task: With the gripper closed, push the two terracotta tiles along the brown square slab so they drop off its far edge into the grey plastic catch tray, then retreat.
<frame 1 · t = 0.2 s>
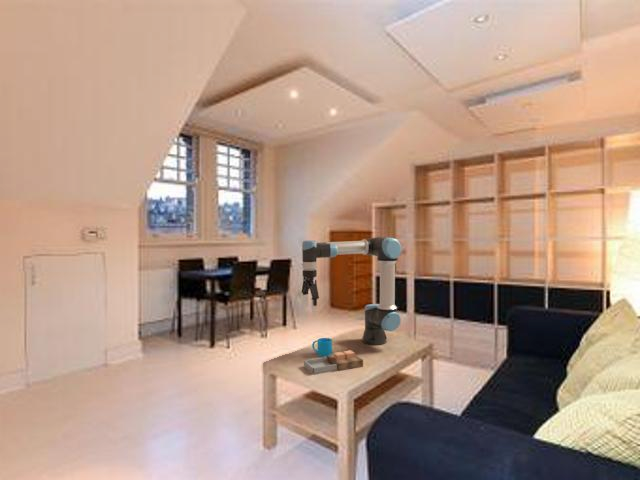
hand: (310, 309, 211), 28 cm above the table, fingers open, 13 cm apart
catch tray: (320, 368, 200), on the table
mug: (321, 354, 223), on the table
brown square slab: (344, 364, 206), on the table
near tile: (348, 356, 207), point 3 cm above the table, touching brown square slab
far tile: (339, 358, 205), point 3 cm above the table, touching brown square slab
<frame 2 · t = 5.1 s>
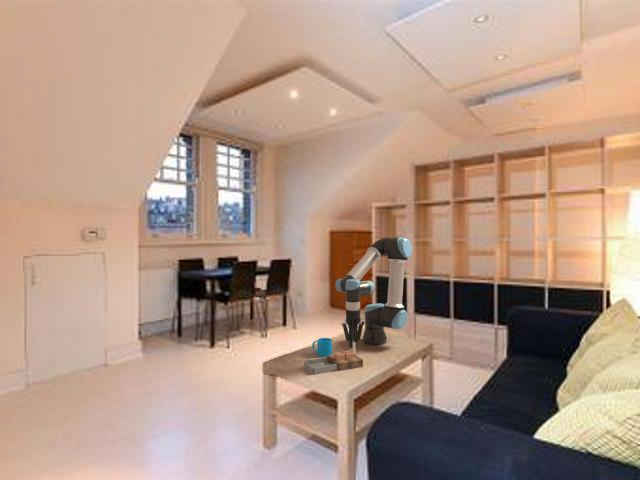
hand: (353, 353, 208), 5 cm above the table, fingers closed
near tile: (348, 356, 207), point 3 cm above the table, touching gripper, brown square slab
everything else where it was.
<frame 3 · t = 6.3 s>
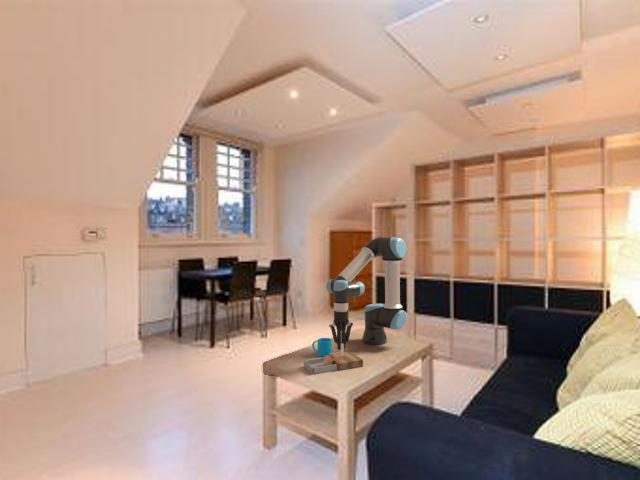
hand: (341, 355, 205), 5 cm above the table, fingers closed
near tile: (336, 358, 204), point 3 cm above the table, touching gripper, brown square slab
far tile: (329, 362, 202), point 2 cm above the table, tilted 53°, touching catch tray
everything else where it was.
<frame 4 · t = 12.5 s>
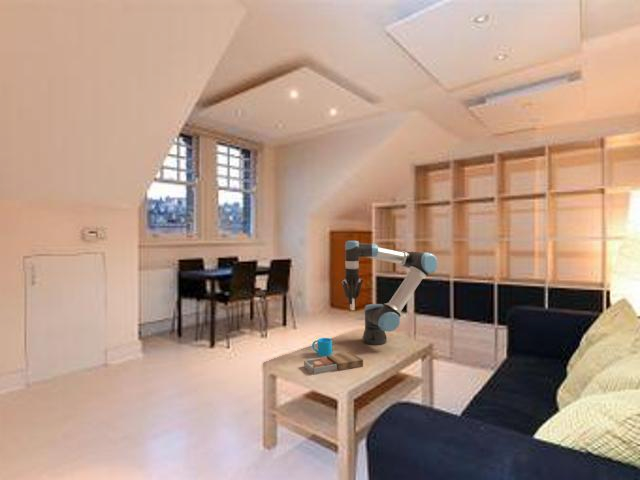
hand: (352, 309, 224), 24 cm above the table, fingers closed
near tile: (325, 363, 201), point 2 cm above the table, tilted 39°, touching catch tray, far tile
far tile: (318, 362, 200), point 3 cm above the table, tilted 180°, touching catch tray, near tile
everything else where it was.
at the end: near tile inside the target area on the catch tray (2.8 cm from its centre), point 2.0 cm above the catch tray's base; far tile inside the target area on the catch tray (0.8 cm from its centre), point 3.1 cm above the catch tray's base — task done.
